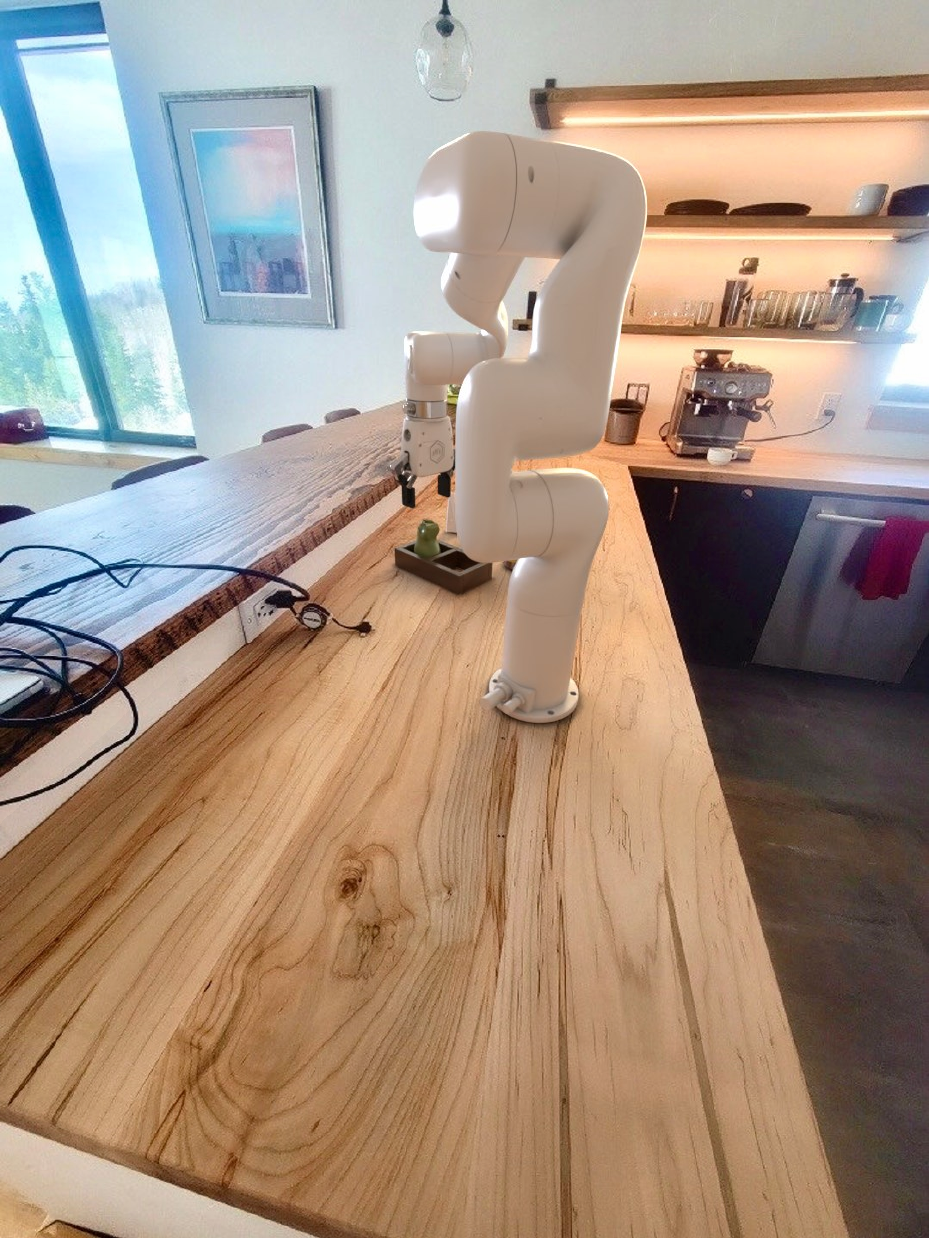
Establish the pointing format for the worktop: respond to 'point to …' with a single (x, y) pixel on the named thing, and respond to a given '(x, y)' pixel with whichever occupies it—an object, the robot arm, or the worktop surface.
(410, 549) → the divided tray
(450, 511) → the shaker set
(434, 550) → the pear
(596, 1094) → the worktop surface
